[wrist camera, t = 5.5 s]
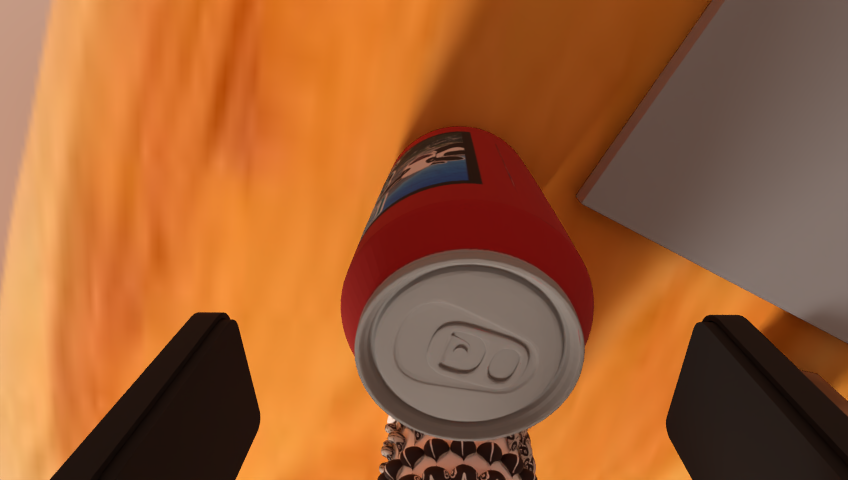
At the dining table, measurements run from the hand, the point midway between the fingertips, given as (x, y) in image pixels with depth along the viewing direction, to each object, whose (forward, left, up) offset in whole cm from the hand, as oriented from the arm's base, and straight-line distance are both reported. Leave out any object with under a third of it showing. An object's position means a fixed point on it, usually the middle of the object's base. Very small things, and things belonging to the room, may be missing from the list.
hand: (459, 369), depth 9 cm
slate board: (-14, -10, -13) cm, 22 cm away
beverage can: (0, 0, -13) cm, 13 cm away
